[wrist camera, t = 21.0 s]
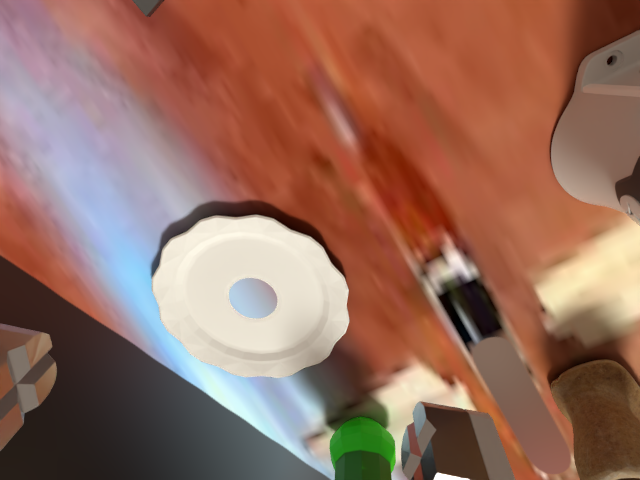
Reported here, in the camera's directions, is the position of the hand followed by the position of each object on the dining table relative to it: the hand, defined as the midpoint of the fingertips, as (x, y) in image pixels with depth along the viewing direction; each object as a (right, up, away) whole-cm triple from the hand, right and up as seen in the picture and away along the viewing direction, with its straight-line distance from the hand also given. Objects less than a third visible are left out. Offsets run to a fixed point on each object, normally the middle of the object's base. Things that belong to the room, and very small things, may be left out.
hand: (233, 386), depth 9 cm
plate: (-7, -4, +43) cm, 44 cm away
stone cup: (+39, -18, +46) cm, 63 cm away
